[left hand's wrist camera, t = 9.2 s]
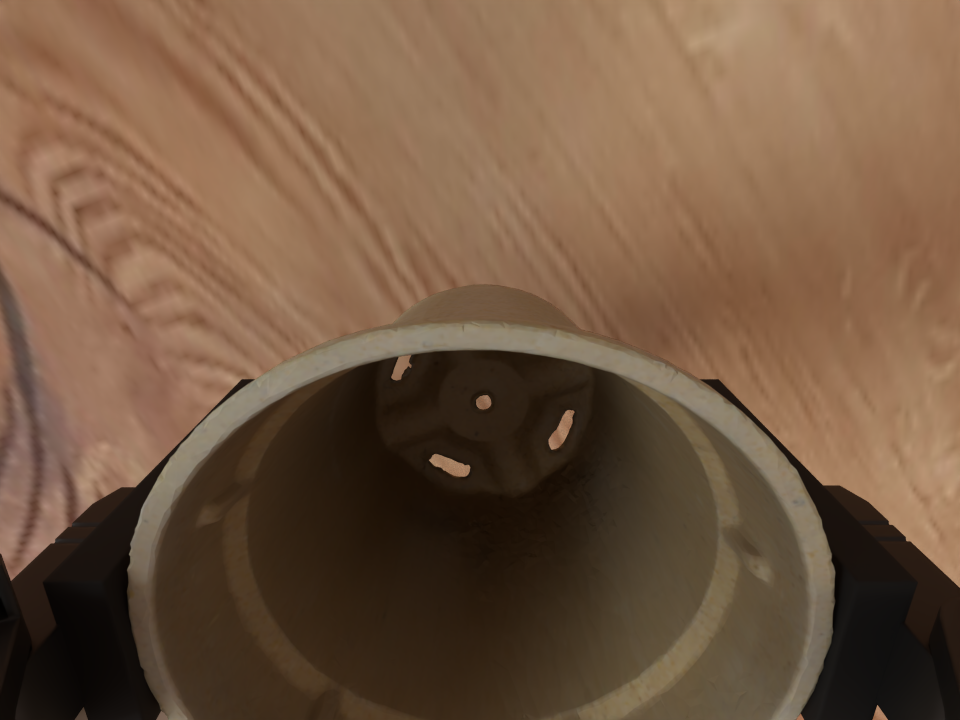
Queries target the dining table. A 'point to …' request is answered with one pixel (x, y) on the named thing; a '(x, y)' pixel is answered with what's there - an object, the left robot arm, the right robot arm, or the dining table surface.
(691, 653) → the beige plant pot
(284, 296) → the dining table surface
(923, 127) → the dining table surface
